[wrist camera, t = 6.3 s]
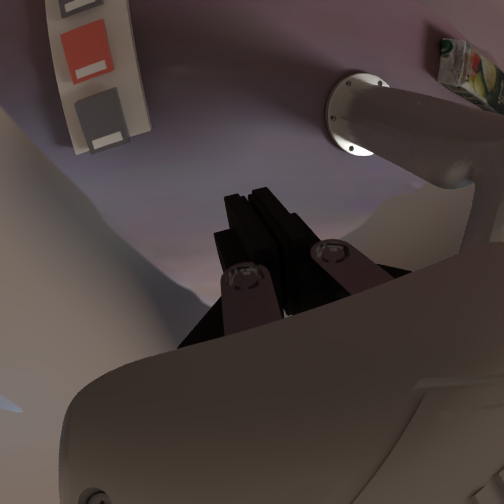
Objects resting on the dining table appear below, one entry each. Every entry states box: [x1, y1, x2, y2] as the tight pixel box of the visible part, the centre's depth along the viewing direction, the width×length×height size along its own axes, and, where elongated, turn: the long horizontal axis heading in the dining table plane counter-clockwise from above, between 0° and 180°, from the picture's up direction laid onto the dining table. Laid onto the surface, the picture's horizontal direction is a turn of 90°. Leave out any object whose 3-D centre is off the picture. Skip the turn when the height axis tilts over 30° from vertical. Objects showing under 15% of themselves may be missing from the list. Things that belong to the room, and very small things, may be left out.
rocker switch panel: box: [45, 0, 152, 155], centre depth 24 cm, size 9×22×4 cm, turn 8°
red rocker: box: [60, 18, 115, 85], centre depth 21 cm, size 4×6×2 cm
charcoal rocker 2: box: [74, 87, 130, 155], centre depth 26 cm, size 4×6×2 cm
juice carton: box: [437, 38, 504, 115], centre depth 36 cm, size 20×10×6 cm, turn 83°
